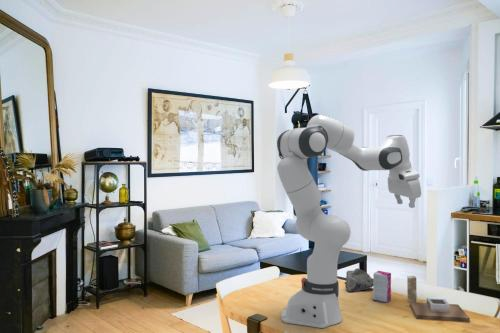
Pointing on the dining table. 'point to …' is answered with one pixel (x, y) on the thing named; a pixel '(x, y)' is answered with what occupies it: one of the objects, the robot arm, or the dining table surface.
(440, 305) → the gray square dish
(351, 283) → the mineral rock
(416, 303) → the walnut board
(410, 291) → the birch stick
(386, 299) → the supplement box
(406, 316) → the dining table surface
